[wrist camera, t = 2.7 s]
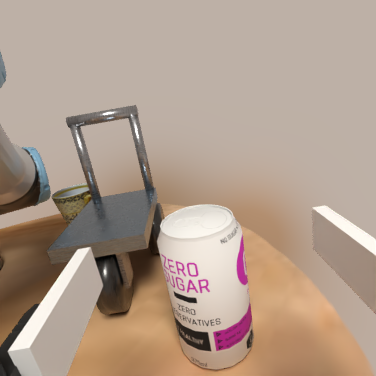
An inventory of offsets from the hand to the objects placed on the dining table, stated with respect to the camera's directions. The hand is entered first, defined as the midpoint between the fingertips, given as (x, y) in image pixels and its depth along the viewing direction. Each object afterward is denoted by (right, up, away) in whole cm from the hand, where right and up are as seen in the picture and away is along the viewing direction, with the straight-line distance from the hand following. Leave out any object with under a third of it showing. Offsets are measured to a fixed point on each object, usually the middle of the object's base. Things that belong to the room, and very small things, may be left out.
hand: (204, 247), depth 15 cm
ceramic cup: (-26, -7, +50) cm, 57 cm away
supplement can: (+2, -14, +14) cm, 20 cm away
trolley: (-11, -11, +28) cm, 32 cm away
